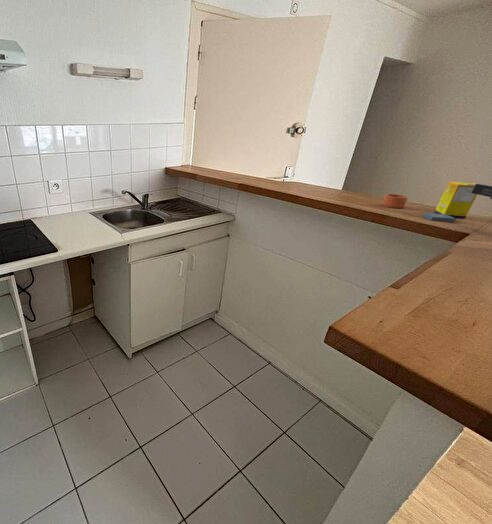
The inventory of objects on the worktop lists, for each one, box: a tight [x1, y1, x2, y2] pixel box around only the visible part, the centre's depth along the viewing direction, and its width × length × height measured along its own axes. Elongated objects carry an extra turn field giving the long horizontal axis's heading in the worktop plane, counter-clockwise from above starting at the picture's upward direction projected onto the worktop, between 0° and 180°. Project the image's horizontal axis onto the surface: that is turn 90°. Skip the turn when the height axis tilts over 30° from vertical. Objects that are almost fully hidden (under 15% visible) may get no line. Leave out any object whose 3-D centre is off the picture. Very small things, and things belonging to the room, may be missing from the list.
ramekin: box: [381, 193, 409, 209], centre depth 106 cm, size 7×7×4 cm
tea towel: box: [423, 212, 457, 223], centre depth 93 cm, size 6×5×1 cm
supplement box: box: [434, 180, 478, 219], centre depth 94 cm, size 6×6×11 cm
